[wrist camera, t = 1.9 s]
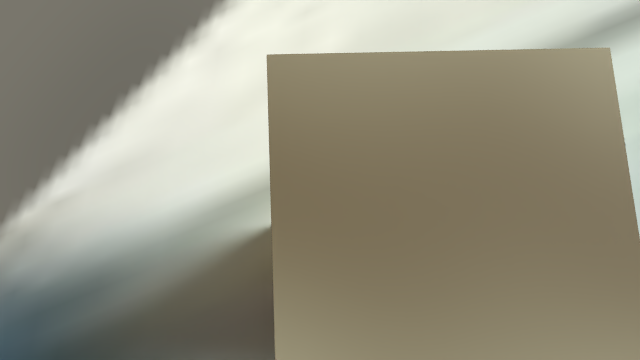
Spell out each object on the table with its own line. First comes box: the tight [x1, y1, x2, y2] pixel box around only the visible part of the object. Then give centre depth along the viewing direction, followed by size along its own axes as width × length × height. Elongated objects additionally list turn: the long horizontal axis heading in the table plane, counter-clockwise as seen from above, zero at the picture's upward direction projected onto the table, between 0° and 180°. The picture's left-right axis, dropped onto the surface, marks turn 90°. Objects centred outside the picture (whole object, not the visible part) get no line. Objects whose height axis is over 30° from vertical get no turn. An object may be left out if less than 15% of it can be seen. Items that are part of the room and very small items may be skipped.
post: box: [267, 48, 640, 360], centre depth 13 cm, size 4×4×13 cm
